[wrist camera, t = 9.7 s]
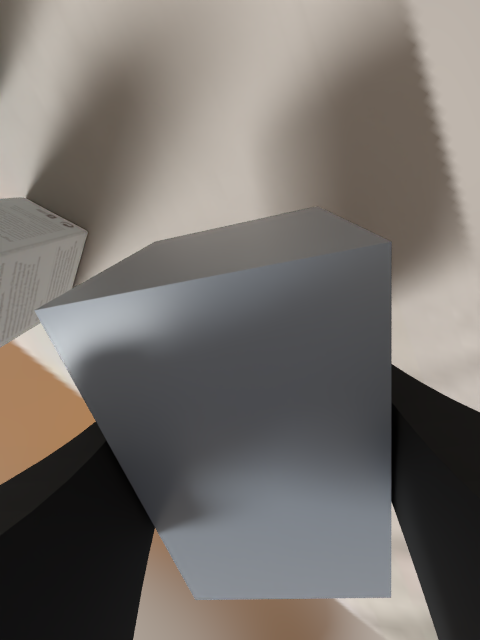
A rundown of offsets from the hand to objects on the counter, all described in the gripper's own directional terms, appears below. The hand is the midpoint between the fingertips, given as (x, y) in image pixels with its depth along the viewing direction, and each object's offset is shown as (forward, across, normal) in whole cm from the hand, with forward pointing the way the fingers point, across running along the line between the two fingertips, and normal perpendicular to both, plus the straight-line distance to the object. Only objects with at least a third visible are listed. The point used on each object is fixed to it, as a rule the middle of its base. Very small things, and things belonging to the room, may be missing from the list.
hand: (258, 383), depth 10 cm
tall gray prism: (+2, 0, 0) cm, 2 cm away
